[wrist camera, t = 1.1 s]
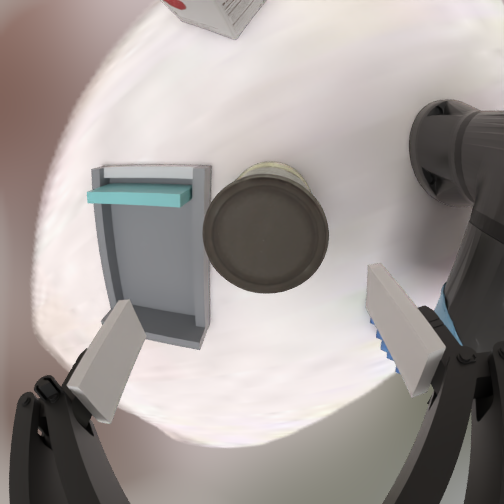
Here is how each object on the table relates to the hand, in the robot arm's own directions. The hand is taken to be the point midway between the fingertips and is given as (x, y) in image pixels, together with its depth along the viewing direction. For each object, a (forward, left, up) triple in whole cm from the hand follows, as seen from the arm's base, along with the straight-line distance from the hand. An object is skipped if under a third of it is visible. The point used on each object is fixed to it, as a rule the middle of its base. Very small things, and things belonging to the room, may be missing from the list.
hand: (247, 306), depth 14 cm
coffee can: (0, 0, -23) cm, 23 cm away
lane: (+16, +8, -23) cm, 29 cm away
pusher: (+16, -1, -22) cm, 27 cm away
